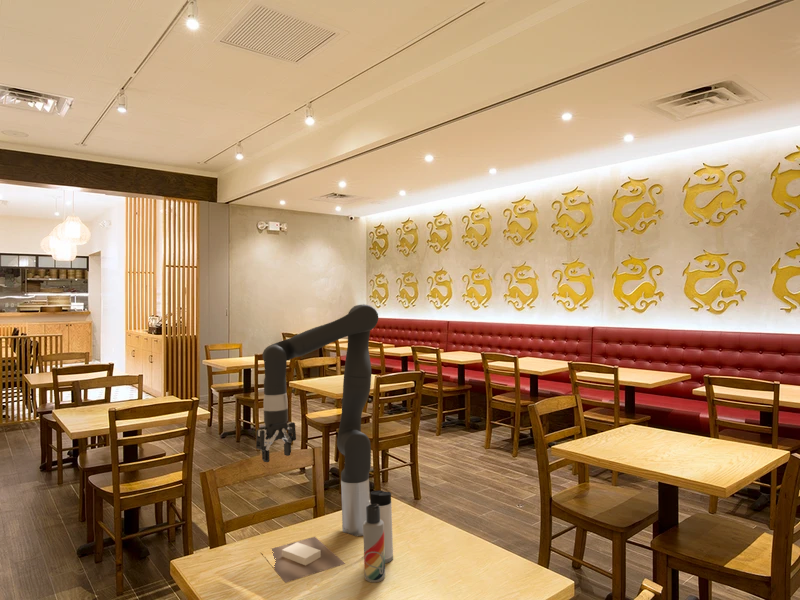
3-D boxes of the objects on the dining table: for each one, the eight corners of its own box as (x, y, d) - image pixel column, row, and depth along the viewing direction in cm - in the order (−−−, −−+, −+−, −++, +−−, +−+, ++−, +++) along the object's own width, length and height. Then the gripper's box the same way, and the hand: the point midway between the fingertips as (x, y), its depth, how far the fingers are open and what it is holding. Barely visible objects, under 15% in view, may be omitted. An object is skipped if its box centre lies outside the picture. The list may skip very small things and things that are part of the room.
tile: (282, 549, 160) (305, 558, 154) (297, 542, 165) (320, 550, 159) (282, 556, 160) (305, 565, 154) (297, 548, 165) (320, 557, 159)
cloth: (314, 539, 173) (314, 536, 173) (345, 567, 154) (345, 563, 154) (259, 555, 163) (259, 551, 163) (285, 586, 145) (285, 582, 145)
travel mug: (367, 561, 157) (365, 493, 157) (378, 552, 163) (376, 486, 163) (386, 566, 154) (383, 496, 154) (396, 556, 160) (394, 488, 160)
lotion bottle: (376, 585, 144) (374, 510, 144) (360, 578, 147) (358, 505, 148) (389, 576, 148) (387, 503, 149) (373, 570, 152) (371, 499, 152)
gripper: (265, 412, 164) (266, 466, 164) (300, 405, 175) (301, 454, 175) (249, 410, 168) (251, 462, 168) (285, 402, 180) (286, 451, 180)
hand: (277, 458), depth 172 cm, fingers open, 8 cm apart
